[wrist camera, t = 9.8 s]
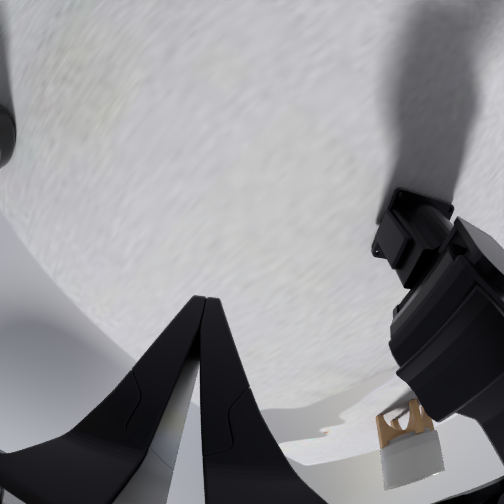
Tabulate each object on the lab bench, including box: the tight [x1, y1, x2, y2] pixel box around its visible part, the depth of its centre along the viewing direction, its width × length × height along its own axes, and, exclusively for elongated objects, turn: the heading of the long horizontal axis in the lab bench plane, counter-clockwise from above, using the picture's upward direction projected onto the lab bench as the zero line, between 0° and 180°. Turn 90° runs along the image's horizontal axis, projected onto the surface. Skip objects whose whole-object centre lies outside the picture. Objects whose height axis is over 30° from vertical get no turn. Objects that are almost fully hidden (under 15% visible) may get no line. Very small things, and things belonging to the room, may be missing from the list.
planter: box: [376, 399, 445, 490], centre depth 40 cm, size 13×13×18 cm
